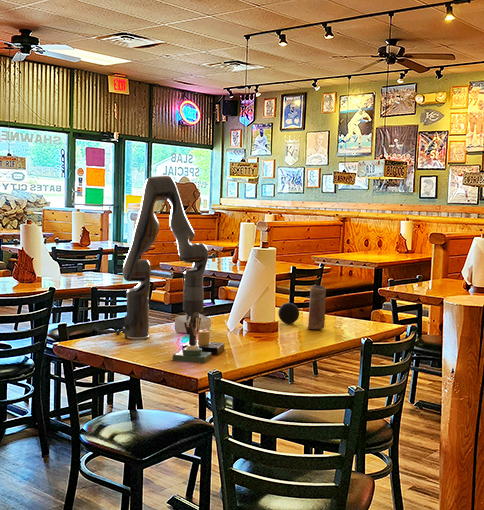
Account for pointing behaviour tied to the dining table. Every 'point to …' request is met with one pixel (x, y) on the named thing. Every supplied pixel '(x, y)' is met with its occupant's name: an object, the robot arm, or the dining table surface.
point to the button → (192, 347)
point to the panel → (210, 347)
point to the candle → (317, 307)
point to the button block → (192, 356)
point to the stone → (180, 321)
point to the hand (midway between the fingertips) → (192, 345)
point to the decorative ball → (288, 313)
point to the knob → (203, 337)
